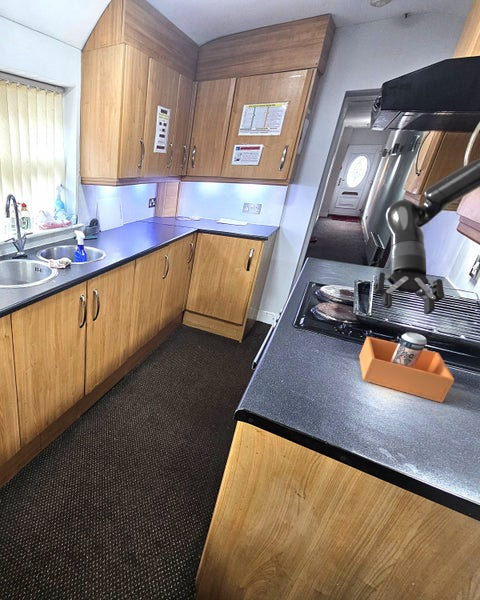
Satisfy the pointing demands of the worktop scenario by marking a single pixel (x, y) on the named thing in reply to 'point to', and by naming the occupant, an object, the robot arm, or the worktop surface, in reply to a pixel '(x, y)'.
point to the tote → (405, 371)
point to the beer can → (409, 349)
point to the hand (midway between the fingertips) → (408, 310)
